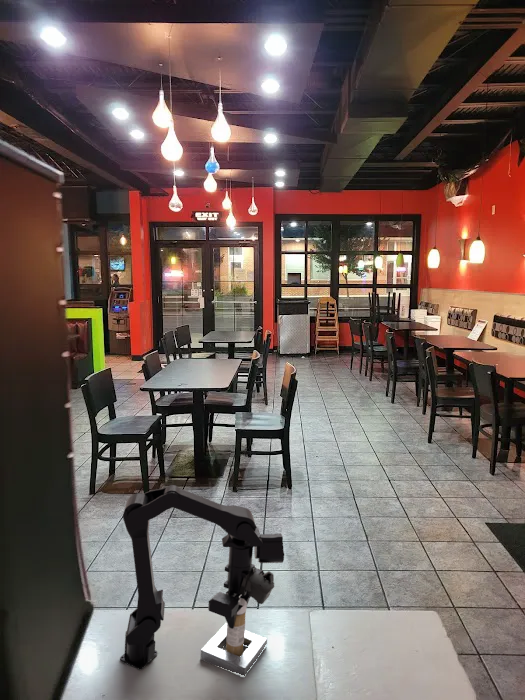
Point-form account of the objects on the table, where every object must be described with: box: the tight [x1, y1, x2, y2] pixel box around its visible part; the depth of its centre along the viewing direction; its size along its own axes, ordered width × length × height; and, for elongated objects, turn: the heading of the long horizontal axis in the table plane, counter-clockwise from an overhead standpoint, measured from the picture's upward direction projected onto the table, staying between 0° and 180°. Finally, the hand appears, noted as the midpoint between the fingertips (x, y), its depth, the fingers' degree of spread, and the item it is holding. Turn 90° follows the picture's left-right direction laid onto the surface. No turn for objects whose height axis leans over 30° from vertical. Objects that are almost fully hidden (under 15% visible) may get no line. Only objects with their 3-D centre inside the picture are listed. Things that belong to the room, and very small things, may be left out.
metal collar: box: [200, 622, 268, 676], centre depth 122 cm, size 12×12×2 cm
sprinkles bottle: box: [225, 597, 248, 657], centre depth 121 cm, size 5×5×13 cm
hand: (236, 622), depth 121 cm, fingers closed on sprinkles bottle, 4 cm apart
